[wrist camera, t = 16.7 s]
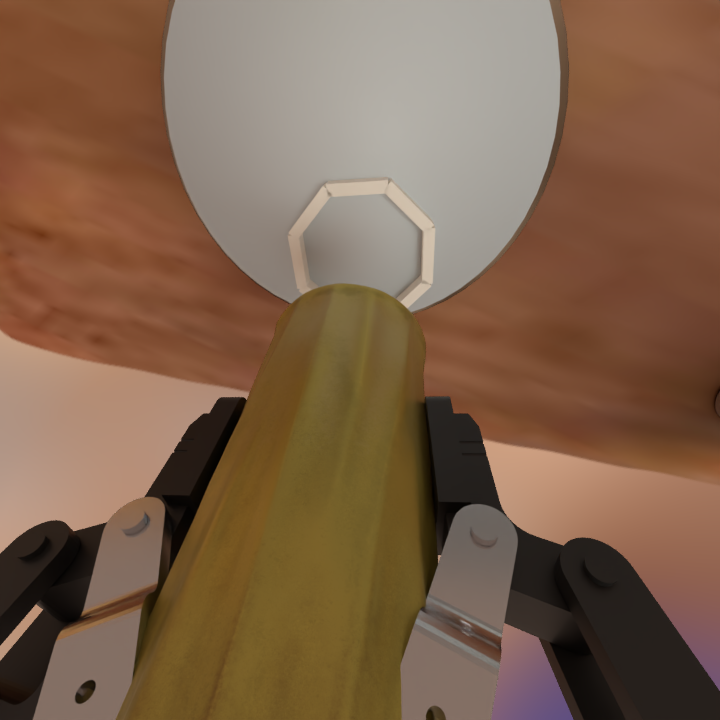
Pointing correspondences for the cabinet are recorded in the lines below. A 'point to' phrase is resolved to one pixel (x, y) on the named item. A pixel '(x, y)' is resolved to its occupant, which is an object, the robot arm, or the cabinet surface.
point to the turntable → (362, 135)
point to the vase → (305, 532)
